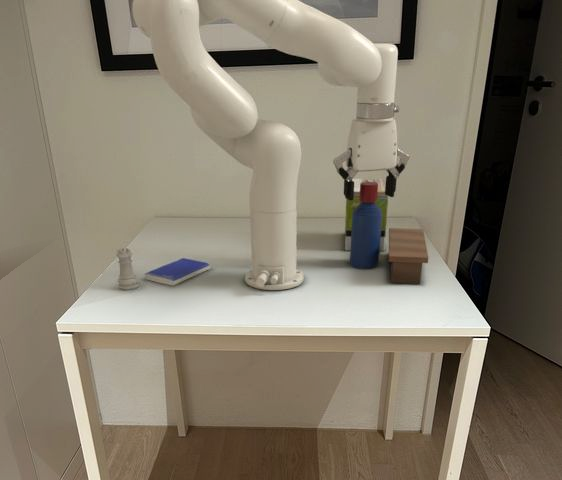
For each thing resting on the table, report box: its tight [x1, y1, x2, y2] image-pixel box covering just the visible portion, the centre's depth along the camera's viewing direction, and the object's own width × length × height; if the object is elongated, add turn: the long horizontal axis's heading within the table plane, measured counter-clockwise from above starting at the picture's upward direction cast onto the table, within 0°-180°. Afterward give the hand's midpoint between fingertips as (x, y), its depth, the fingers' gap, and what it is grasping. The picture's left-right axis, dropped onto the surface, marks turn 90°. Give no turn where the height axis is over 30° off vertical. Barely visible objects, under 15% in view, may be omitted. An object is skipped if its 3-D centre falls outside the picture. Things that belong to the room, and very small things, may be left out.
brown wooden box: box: [388, 227, 429, 285], centre depth 131 cm, size 22×8×6 cm, turn 171°
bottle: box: [349, 202, 382, 270], centre depth 131 cm, size 7×7×18 cm
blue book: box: [144, 257, 211, 286], centre depth 129 cm, size 2×8×12 cm
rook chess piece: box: [115, 247, 140, 291], centre depth 121 cm, size 4×4×8 cm
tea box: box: [344, 178, 389, 252], centre depth 146 cm, size 15×10×15 cm, turn 175°
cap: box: [359, 182, 378, 203], centre depth 127 cm, size 4×4×4 cm
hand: (369, 197), depth 128 cm, fingers open, 9 cm apart
